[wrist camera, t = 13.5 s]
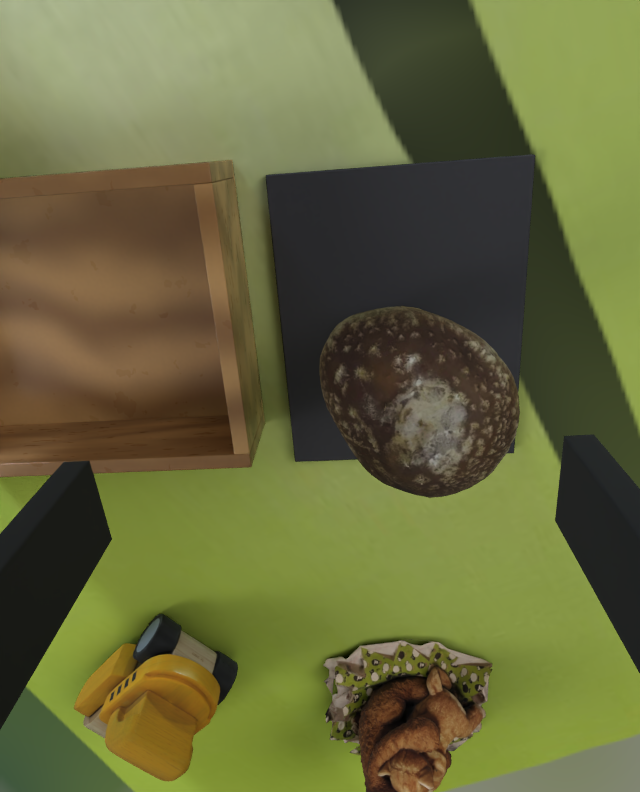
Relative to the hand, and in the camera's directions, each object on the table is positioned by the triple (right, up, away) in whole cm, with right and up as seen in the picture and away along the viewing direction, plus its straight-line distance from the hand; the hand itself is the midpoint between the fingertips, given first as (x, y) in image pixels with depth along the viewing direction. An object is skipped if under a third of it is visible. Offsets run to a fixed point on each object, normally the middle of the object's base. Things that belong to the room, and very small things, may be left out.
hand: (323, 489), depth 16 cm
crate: (-17, +8, +23) cm, 30 cm away
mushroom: (+5, +7, +22) cm, 24 cm away
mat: (+5, +7, +22) cm, 24 cm away
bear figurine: (+8, -24, +36) cm, 45 cm away
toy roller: (-14, -22, +36) cm, 45 cm away
